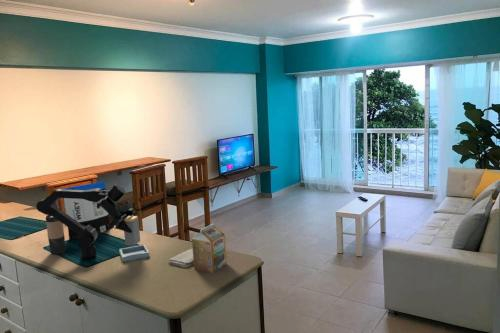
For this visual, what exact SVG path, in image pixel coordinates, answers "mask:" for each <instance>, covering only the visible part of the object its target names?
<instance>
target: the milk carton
mask: <svg viewBox="0 0 500 333" xmlns="http://www.w3.org/2000/svg"><path fill="white" fill-rule="evenodd" d="M191 243H192V245H191V246H192V249H193V260H194V264H193V269H195V270H199V271H203V272H208V273H212V274H213V273H215V272H216V271H218V270H220V269H221V268H224V266H227V264H228V263H227V249H226V248H227V247H226V234H225V233H224V232H223V231H222V230H221V229H220V228H219V227H217V226H216V223H212V224H209V225H207V226H205V227H203V228H201V229H200V231H199V233H197V234H195V235H194V236H193V237H192V238H191Z"/></svg>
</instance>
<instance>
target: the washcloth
mask: <svg viewBox="0 0 500 333" xmlns="http://www.w3.org/2000/svg"><path fill="white" fill-rule="evenodd" d="M168 264H170V265H172V266H174V267H175V266H176V267H181V268H189V267H190V266H194V260H193V248H190V249H187V250H186V251H183V252H181V253H179V254H177V255H175V256H172V257H171V258H169V259H168Z"/></svg>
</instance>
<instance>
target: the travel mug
mask: <svg viewBox="0 0 500 333" xmlns="http://www.w3.org/2000/svg"><path fill="white" fill-rule="evenodd" d="M45 222H46V223H45V224H46V231H47V239H48V245H49V246H48V247H49V251H50V255H55V256H57V254H58V255H62V254H65V253H66V251H67V250H66V239H65V229H64V224H63V223H61V222H60V221H58V220H57V219H56V218H54V217H53V216H50V215H45ZM61 253H62V254H61Z"/></svg>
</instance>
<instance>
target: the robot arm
mask: <svg viewBox="0 0 500 333" xmlns="http://www.w3.org/2000/svg"><path fill="white" fill-rule="evenodd" d="M126 194H127V191H126V190H125V189H124V188H123V187H121V186H119V185H117V184H114V185H113V187H111V189H110V190H106V191H103V190H102V189H100V188H96V189H90V190H65V189H63V188H62V189H61V188H57V189H55V190H54V191H52V193H51V194H49V195H48V196H47V197H45V198H43V199H41V200H39V201H38V202H37V203H36V205H35V206H36V210H37V211H38V212H39V213H42V214H44V215H45V216H47V215H50V216H53V217H54V218H56V219H57V220H58V221H60V222H61V223H63V226H66V227H67V228H68V227H69V228H70V229H71V230H73V231H74V232H76V233H77V234H78V236H79V238H80V239H79V240H81V241H80V242H79V243H78V244H77V246H78V247H79V249H80V254H81V256H80V257H81V261H84V260H89V259H96V256H97V248H96V245H95V244H94V242H95V241H96V240H97V238H98V236H99V235H98V233H97V231H96V230H95V228H93V227H91V226H90V225H88V226H83V225H81V224H80V223H79V222H77V221H76V220H74V219H73V218H72V217H70V216H69V215H67V214H66V212H64V211H63V210H61V209H60V208H59V206H58V205H57V203H56V202H57V200H59V199H64V198H72V199H85V200H87V201H91V202H99V201H100V200H101V199H103V200H102V201H101V202H100V203H97V209H98V208H101V207H102V208H103V209H104V210H105V211H106V212H107V213H108V216H109V217H112V219H111V220H110V221H109V224H108V227H109V228H110V230H113V229H116V230H119V231H122V232H124V231H126V232H129V233H131V232H132V231H131V229H130V228H129V227H128V226H127V225H126V224H125V218H127V217H128V216H132V215H133V216H135V213H136V210H135V209H134V207H133V202H132V201H130V200H127V201H125V202H124V204H123V205H121V204H116V203H117V202H119V201H121V199H122V198H123V197H124V196H125V195H126ZM106 197H107V198H106ZM104 198H106V199H104Z"/></svg>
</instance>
